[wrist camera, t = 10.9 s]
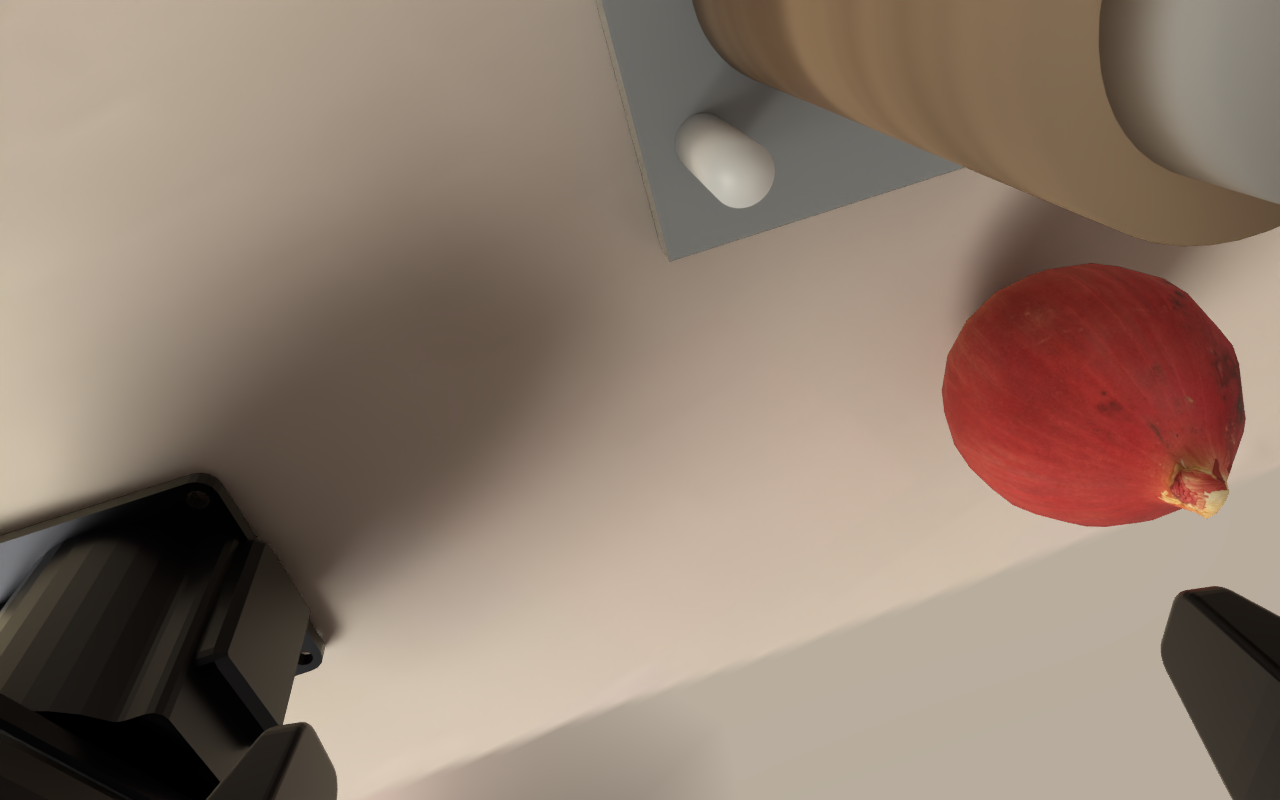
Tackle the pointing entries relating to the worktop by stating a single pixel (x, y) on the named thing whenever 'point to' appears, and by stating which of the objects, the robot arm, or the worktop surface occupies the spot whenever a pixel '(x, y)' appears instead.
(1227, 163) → the pepper mill
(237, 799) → the robot arm
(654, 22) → the pin tray
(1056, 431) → the pomegranate
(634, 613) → the worktop surface
